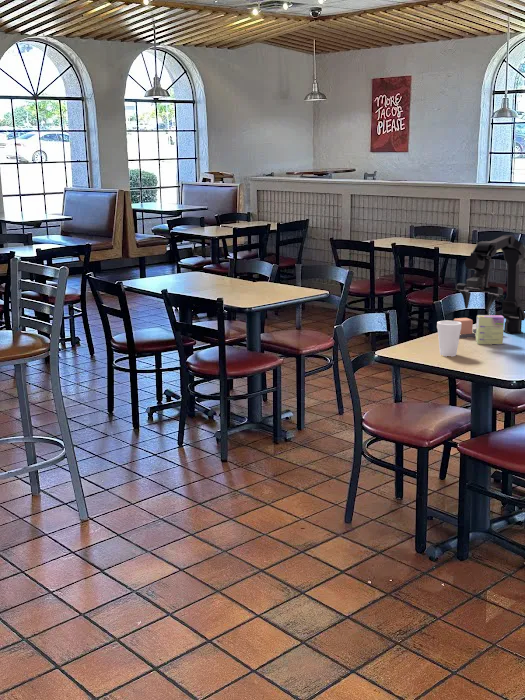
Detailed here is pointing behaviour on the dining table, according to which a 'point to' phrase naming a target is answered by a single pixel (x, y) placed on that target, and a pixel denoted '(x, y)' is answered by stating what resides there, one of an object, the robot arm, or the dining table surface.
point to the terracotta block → (465, 325)
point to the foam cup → (448, 337)
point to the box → (489, 329)
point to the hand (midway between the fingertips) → (476, 309)
